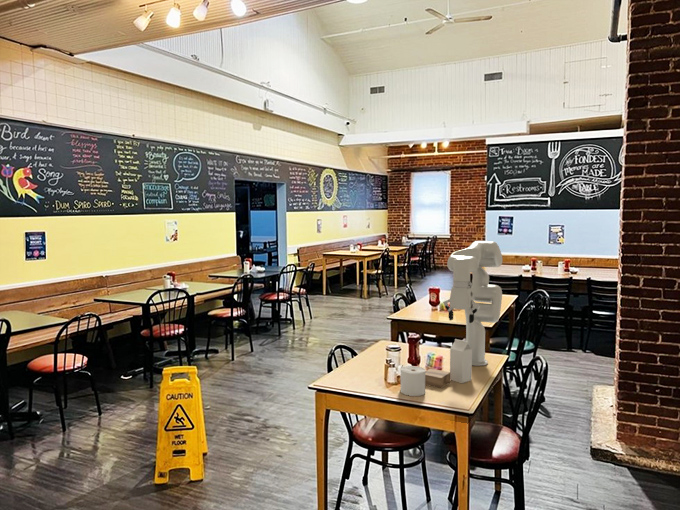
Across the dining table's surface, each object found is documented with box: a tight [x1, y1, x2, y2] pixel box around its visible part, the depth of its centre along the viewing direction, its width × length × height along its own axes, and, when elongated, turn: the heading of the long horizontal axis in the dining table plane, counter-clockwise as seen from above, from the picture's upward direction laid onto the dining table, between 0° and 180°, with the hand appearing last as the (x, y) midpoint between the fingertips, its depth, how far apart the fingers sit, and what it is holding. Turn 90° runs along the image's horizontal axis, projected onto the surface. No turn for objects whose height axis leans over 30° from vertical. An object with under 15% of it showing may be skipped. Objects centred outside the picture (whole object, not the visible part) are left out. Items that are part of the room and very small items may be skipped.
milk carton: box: [449, 338, 473, 384], centre depth 231 cm, size 7×7×19 cm
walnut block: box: [425, 368, 451, 389], centre depth 228 cm, size 10×10×5 cm
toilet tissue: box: [400, 364, 427, 397], centre depth 216 cm, size 11×12×10 cm
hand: (461, 321), depth 230 cm, fingers open, 9 cm apart
